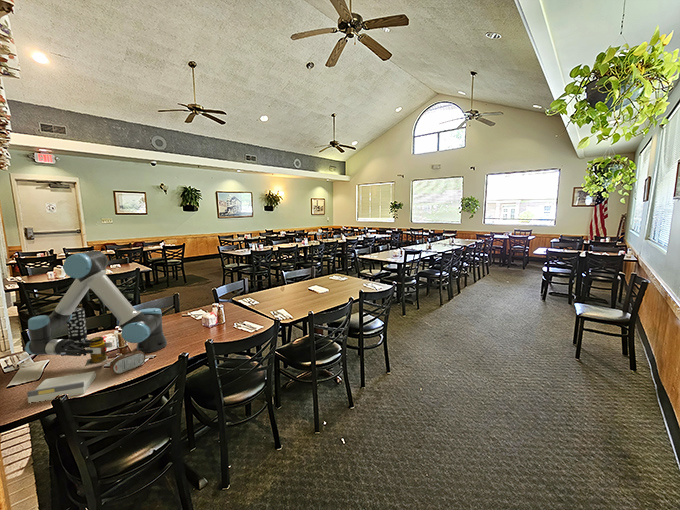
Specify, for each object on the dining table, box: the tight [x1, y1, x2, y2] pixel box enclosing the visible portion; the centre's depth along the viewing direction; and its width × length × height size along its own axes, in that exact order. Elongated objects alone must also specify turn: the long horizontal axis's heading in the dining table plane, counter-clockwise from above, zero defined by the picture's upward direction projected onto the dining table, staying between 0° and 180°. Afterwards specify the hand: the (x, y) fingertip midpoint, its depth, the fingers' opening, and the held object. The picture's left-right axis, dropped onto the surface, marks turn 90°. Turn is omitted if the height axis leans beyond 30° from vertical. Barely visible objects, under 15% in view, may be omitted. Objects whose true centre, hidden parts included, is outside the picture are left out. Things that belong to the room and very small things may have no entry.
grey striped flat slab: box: [26, 370, 96, 404], centre depth 129 cm, size 18×14×5 cm
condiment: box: [84, 336, 109, 367], centre depth 147 cm, size 7×8×12 cm
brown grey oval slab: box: [109, 350, 146, 375], centre depth 146 cm, size 15×3×8 cm, turn 148°
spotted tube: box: [66, 307, 88, 342], centre depth 175 cm, size 8×8×20 cm
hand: (105, 347), depth 147 cm, fingers closed on condiment, 6 cm apart
